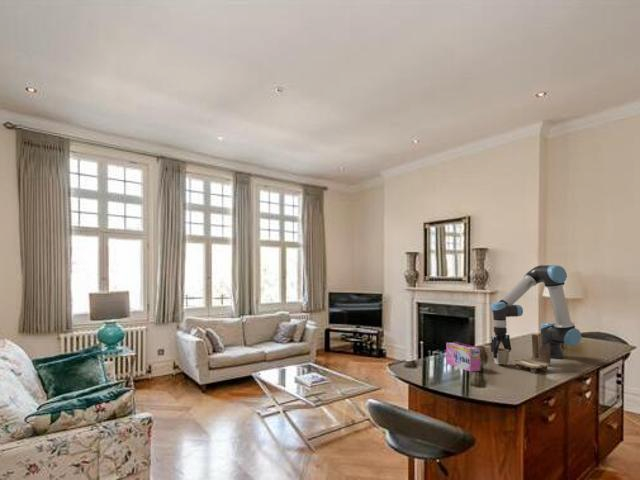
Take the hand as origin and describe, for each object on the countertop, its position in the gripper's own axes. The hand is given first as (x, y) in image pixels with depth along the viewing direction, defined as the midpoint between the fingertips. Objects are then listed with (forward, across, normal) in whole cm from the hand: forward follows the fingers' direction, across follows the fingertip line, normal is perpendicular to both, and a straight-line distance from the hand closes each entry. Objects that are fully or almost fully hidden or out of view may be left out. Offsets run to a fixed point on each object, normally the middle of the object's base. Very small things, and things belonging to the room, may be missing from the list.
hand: (501, 362), depth 248 cm
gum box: (+2, +26, -7) cm, 27 cm away
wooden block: (+2, -25, +9) cm, 26 cm away
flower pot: (+1, 0, 0) cm, 1 cm away
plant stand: (+2, -7, +16) cm, 17 cm away
